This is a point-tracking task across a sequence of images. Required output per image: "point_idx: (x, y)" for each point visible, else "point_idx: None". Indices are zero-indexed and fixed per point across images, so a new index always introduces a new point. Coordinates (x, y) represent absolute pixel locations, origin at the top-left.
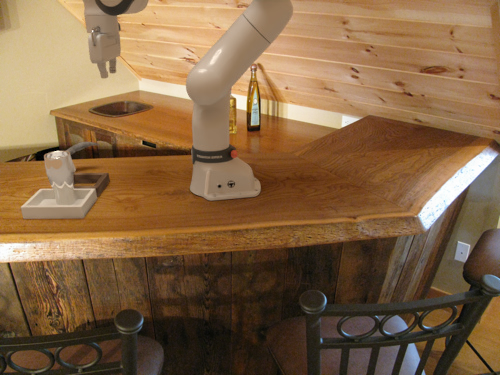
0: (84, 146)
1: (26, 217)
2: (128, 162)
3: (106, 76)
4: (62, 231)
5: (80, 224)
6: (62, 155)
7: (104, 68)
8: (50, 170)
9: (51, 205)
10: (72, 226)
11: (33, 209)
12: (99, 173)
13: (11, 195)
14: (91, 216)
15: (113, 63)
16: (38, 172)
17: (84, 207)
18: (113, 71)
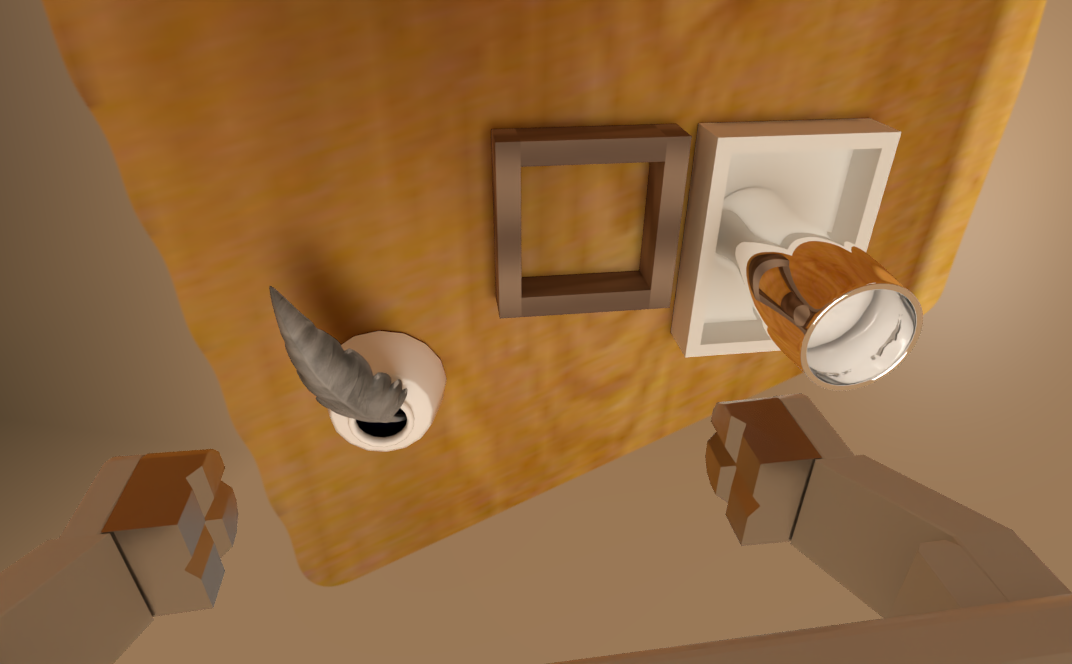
0: (337, 350)
1: None
2: (186, 103)
3: (809, 409)
4: (948, 159)
5: (916, 112)
6: (791, 330)
7: (950, 513)
8: (879, 320)
9: None
10: (922, 137)
11: None
12: (506, 187)
13: (622, 438)
14: (860, 91)
15: (39, 638)
16: (402, 457)
17: (864, 128)
18: (214, 487)
